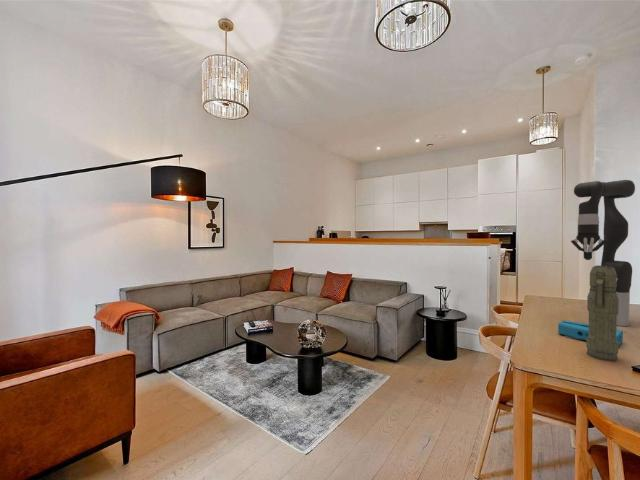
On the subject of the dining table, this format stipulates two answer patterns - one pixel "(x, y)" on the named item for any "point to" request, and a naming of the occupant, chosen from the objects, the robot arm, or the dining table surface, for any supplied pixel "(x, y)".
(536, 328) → the dining table surface
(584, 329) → the block
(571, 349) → the dining table surface
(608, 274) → the olive green pouch
